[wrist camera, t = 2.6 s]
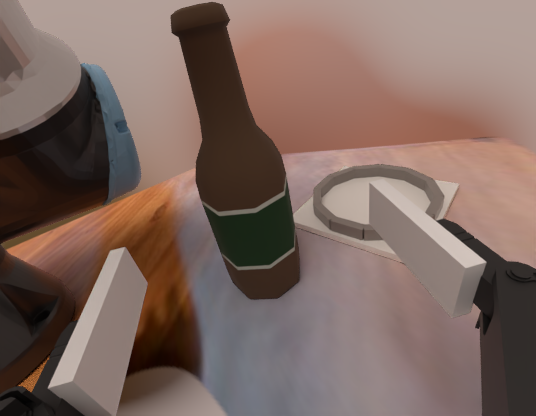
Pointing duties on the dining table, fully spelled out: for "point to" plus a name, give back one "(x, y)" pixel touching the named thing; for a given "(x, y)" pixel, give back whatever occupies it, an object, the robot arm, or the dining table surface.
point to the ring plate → (357, 204)
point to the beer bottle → (237, 162)
